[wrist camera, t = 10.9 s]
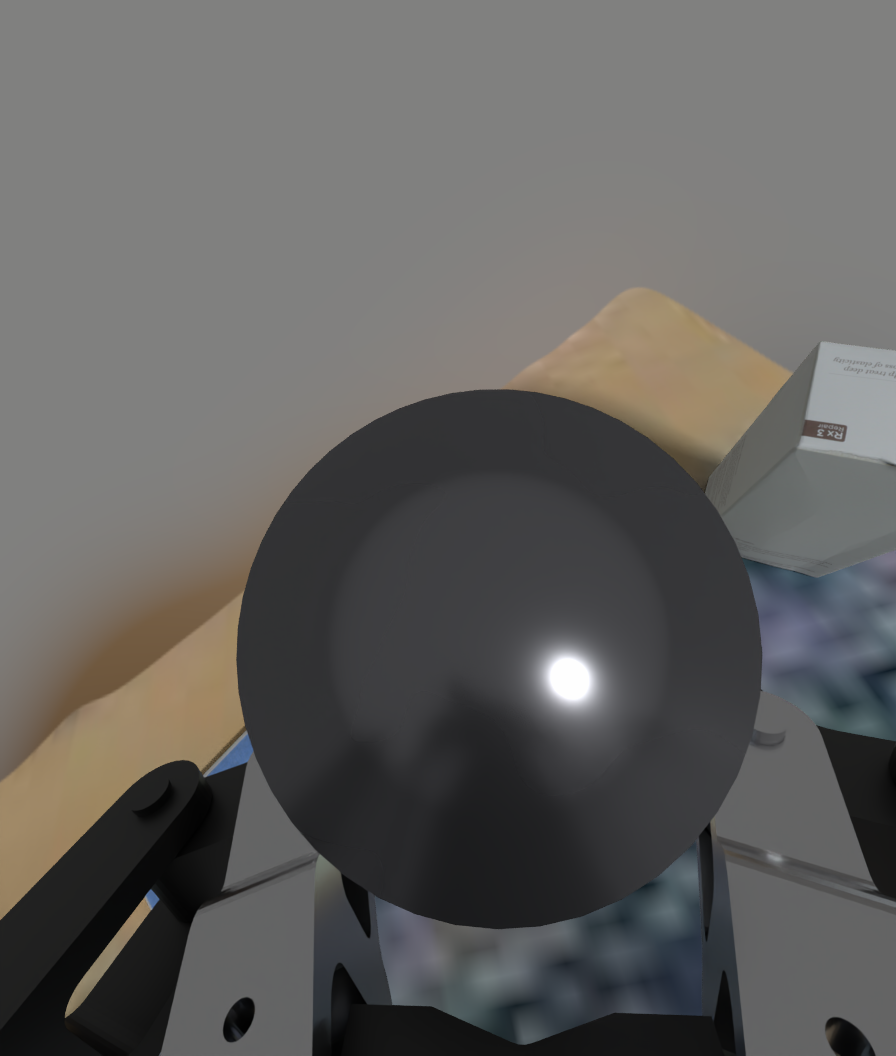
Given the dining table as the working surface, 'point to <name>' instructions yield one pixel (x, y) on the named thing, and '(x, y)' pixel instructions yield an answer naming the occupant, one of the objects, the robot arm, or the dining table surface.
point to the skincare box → (817, 466)
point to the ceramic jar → (499, 659)
